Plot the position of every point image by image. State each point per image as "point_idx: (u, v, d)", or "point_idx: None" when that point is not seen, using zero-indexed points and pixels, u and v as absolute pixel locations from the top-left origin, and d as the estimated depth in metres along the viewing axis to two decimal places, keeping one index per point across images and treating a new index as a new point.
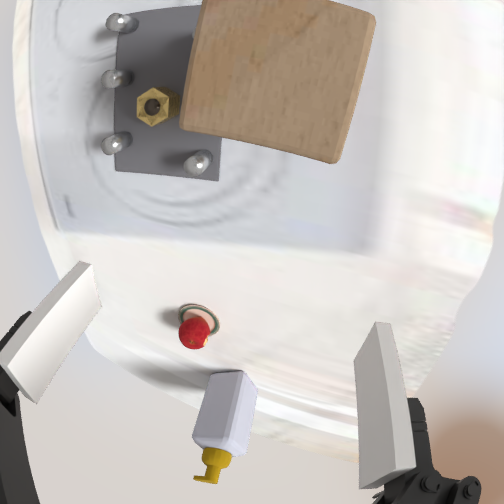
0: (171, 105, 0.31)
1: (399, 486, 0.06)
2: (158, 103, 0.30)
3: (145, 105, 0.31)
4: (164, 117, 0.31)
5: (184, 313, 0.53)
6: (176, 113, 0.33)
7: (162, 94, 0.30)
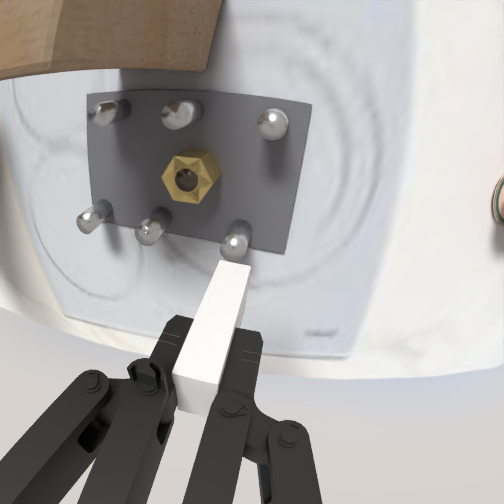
0: (188, 155, 0.25)
1: None
2: (181, 170, 0.25)
3: (183, 190, 0.26)
4: (200, 163, 0.25)
5: (501, 215, 0.25)
6: (207, 151, 0.27)
7: (170, 164, 0.25)
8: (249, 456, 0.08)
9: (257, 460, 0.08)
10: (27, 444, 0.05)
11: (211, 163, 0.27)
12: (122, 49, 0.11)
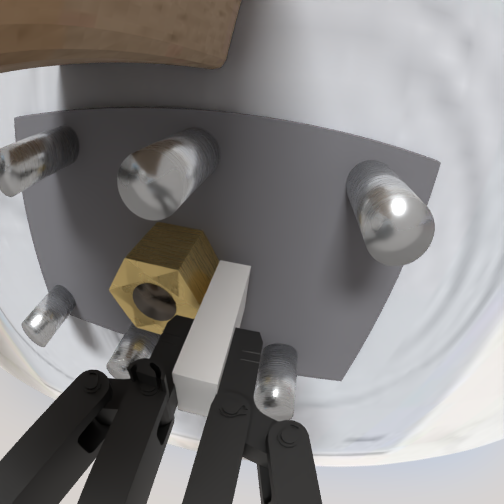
0: (155, 252, 0.12)
1: None
2: (143, 286, 0.12)
3: (151, 316, 0.13)
4: (179, 279, 0.12)
5: None
6: (194, 237, 0.14)
7: (120, 272, 0.12)
8: (249, 456, 0.08)
9: (257, 460, 0.08)
10: (27, 444, 0.05)
11: (202, 264, 0.14)
12: None
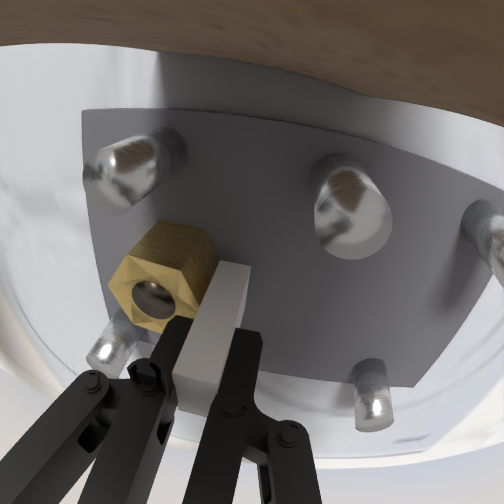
0: (157, 251, 0.12)
1: None
2: (143, 284, 0.12)
3: (149, 314, 0.13)
4: (181, 279, 0.12)
5: None
6: (197, 237, 0.14)
7: (121, 268, 0.12)
8: (249, 456, 0.08)
9: (257, 460, 0.08)
10: (27, 444, 0.05)
11: (204, 265, 0.14)
12: None
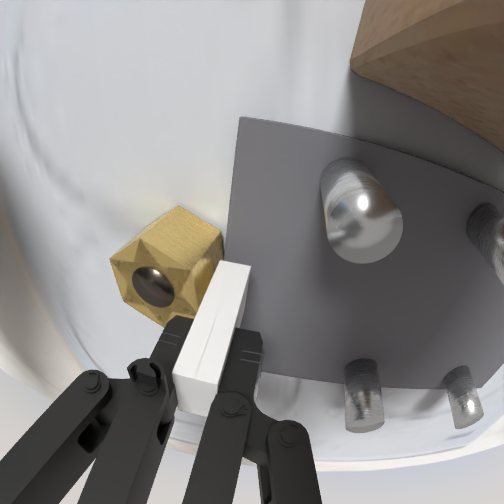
0: (171, 242, 0.12)
1: None
2: (148, 270, 0.12)
3: (143, 298, 0.13)
4: (188, 278, 0.12)
5: None
6: (211, 237, 0.14)
7: (129, 248, 0.12)
8: (249, 456, 0.08)
9: (257, 460, 0.08)
10: (27, 444, 0.05)
11: (211, 266, 0.14)
12: None
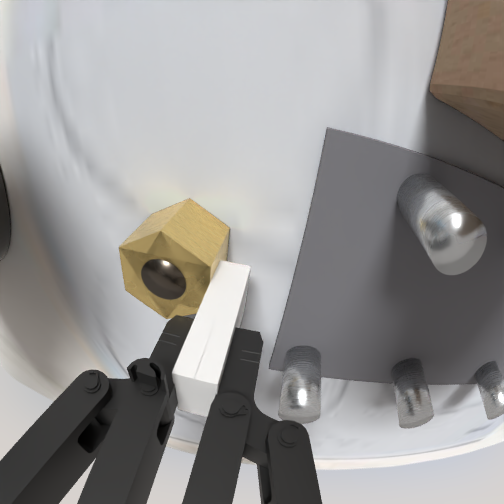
0: (189, 237, 0.12)
1: None
2: (162, 262, 0.12)
3: (150, 289, 0.13)
4: (206, 274, 0.12)
5: None
6: (222, 233, 0.14)
7: (145, 239, 0.12)
8: (249, 456, 0.08)
9: (257, 460, 0.08)
10: (27, 444, 0.05)
11: None
12: None
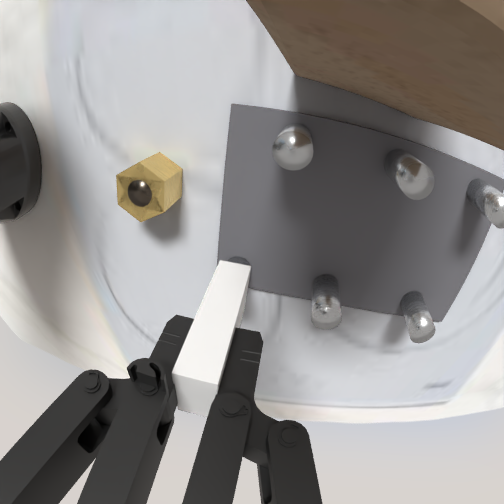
0: (155, 167, 0.21)
1: None
2: (139, 181, 0.21)
3: (132, 201, 0.22)
4: (162, 186, 0.21)
5: None
6: (176, 170, 0.23)
7: (131, 168, 0.20)
8: (249, 456, 0.08)
9: (257, 460, 0.08)
10: (27, 444, 0.05)
11: (174, 186, 0.23)
12: None
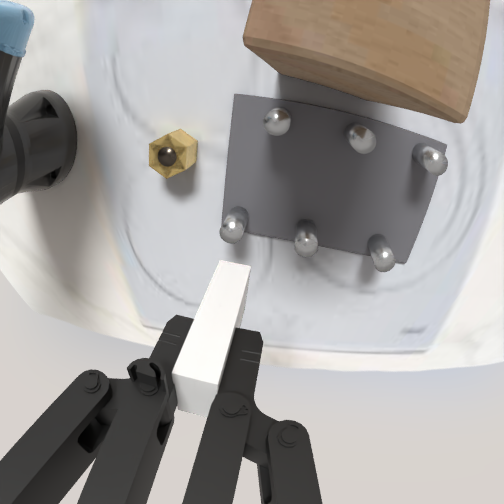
0: (179, 138, 0.29)
1: None
2: (167, 148, 0.28)
3: (160, 162, 0.29)
4: (184, 150, 0.28)
5: None
6: (193, 141, 0.30)
7: (161, 138, 0.28)
8: (249, 456, 0.08)
9: (257, 459, 0.08)
10: (27, 444, 0.05)
11: (192, 152, 0.30)
12: None
